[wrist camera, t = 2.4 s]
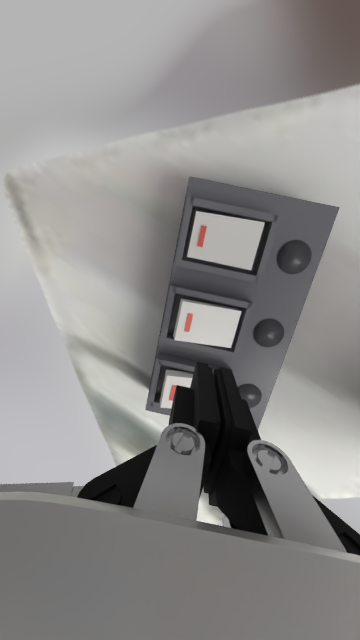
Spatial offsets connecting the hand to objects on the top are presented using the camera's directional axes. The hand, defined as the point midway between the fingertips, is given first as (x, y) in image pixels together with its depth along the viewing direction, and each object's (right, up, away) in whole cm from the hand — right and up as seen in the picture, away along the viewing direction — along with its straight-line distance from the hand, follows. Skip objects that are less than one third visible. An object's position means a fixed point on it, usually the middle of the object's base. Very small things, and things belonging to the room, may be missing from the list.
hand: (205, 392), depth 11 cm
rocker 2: (+3, +11, +10) cm, 15 cm away
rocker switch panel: (+4, +4, +17) cm, 18 cm away
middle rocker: (+1, +3, +13) cm, 13 cm away
